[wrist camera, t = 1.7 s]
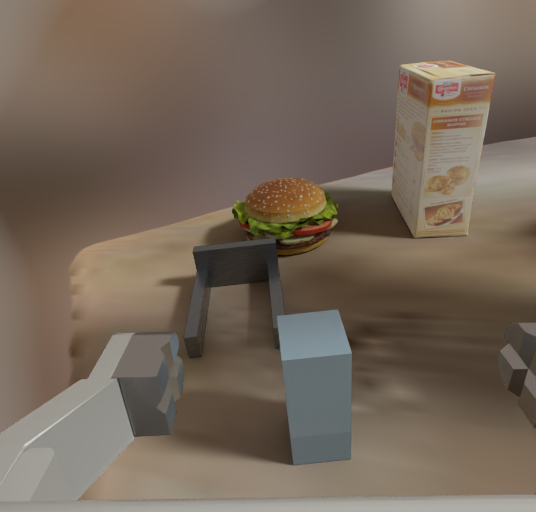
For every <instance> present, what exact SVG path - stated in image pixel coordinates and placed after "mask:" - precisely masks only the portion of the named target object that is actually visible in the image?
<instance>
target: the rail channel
mask: <svg viewBox="0 0 536 512" xmlns="http://www.w3.org/2000/svg"><path fill="white" fill-rule="evenodd" d="M193 255H194V260H195V264H196V269H197V273H196V278H195V283H194V288H193V293H192V298H191V303H190V308H189V313H188V318H187V323H186V328H185V333H184V341H185V345H186V349H187V352H188V356H189V358H193V357H202V351H203V343H204V335H205V328H206V320H207V313H208V305H209V298H210V290H211V287H217V286H226V285H235V284H244V283H253V282H263V281H269V286H270V297H271V309H272V320H273V331H274V339H275V347H276V349H277V348H280V341H279V331H278V321H277V316H281V315H285V313H284V305H283V297H282V290H281V282H280V274H279V267H278V258H277V249H276V240H275V238H269V239H260V240H251V241H242V242H232V243H223V244H214V245H205V246H196V247H194V248H193Z"/></svg>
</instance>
